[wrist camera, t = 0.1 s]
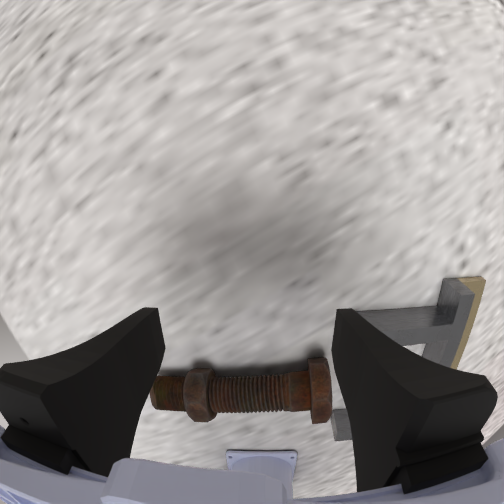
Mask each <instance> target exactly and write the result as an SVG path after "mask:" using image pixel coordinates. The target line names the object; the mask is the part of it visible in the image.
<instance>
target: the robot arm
mask: <svg viewBox="0 0 504 504" xmlns="http://www.w3.org/2000/svg"><path fill="white" fill-rule="evenodd" d="M331 351H332V357H333V363H334V369H335V373H336V376H337V380H338V383H339V386H340V389H341V393H342V396H343V399H344V402H345V406H346V409H347V413H348V417H349V421H350V427H351V434H352V440H353V448H354V457H355V467H356V480H357V492H356V493H350V494H343V495H334V496H325V497H314V498H300V499H293V489H292V482H293V477H294V471H295V465H296V459H297V452H296V451H269V452H263V451H227V452H226V458H227V464H228V470H221V469H209V468H199V467H190V466H182V465H175V464H168V463H162V462H156V461H150V460H145V459H133V458H130V454H131V449H132V445H133V440H134V436H135V432H136V428H137V425H138V421H139V417H140V414H141V411H142V409H143V406H144V404H145V401H146V399H147V397H148V395H149V392H150V390H151V388H152V386H153V383H154V381H155V379H156V376H157V374H158V372H159V369H160V367H161V363H162V360H163V356H164V352H165V343H164V338H163V333H162V328H161V323H160V317H159V312H158V308H147V307H144V308H142V309H140V310H138V311H137V312H135V313H133V314H132V315H130V316H129V317H127V318H125V319H124V320H122V321H121V322H119V323H118V324H116V325H114V326H113V327H111V328H110V329H108V330H106V331H104V332H103V333H101V334H99V335H97V336H96V337H94V338H92V339H90V340H88V341H86V342H84V343H82V344H80V345H77V346H75V347H73V348H70V349H68V350H65V351H62V352H59V353H56V354H53V355H50V356H46V357H43V358H38V359H34V360H29V361H23V362H15V363H6V364H4V365H3V366H2V367H1V368H0V412H1V413H2V415H3V416H4V418H5V419H6V421H7V422H8V424H9V426H8V427H7V429H6V430H5V429H4V428H3V427H2V426H1V425H0V499H1V500H2V501H4V502H5V503H7V504H504V438H503V439H500V440H498V441H496V442H493V443H492V444H490V445H489V446H488V447H486V448H485V449H483V447H482V445H481V442H482V441H483V440H484V436H483V435H482V433H481V429H482V428H483V426H484V425H485V423H486V422H487V420H488V418H489V417H490V415H491V414H492V412H493V410H494V408H495V406H496V402H497V398H498V396H497V392H496V390H495V389H494V388H493V386H492V385H491V383H490V382H489V381H488V379H487V378H486V376H484V375H479V374H473V373H468V372H463V371H459V370H456V369H453V368H449V367H446V366H443V365H441V364H438V363H435V362H433V361H431V360H428V359H426V358H424V357H421V356H419V355H417V354H415V353H414V352H412V351H410V350H408V349H406V348H405V347H403V346H401V345H400V344H398V343H397V342H395V341H394V340H392V339H391V338H389V337H388V336H386V335H385V334H384V333H382V332H381V331H380V330H378V329H377V328H376V327H374V326H373V325H372V324H371V323H369V322H368V321H367V320H366V319H364V318H363V317H362V316H361V315H360V314H358V313H357V312H356V311H354V310H353V309H352V308H350V309H337V312H336V320H335V328H334V335H333V342H332V349H331Z"/></svg>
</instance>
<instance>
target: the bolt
mask: <svg viewBox="0 0 504 504" xmlns="http://www.w3.org/2000/svg"><path fill="white" fill-rule="evenodd" d="M150 397H151V402H152V405H153V406H154V408H155V409H157V410H170V411H172V410H173V411H184V412H187V414H188V416H189V417H190V418H191V419H192V420H193V421H194V422H209V421H211V420H212V419H214V418H215V417H216V415H217V412H218V413H221V412H222V413H225V412H226V413H229V412H230V413H233V412H234V413H237V412H238V413H241V411H242V412H243V413H245V411H246V412H247V413H249V411H250V412H251V413H252V412H253V411H254V412H255V413H256V412H257V411H258V412H261V411H263V412H265V411H267V412H269V411H270V410H271V412H273V411H274V410H275V411H276V412H277V411H278V409H279V411H282V409H283V410H284V411H291V412H296V411H309V410H310V412H311V419H312V424H318V423H326V422H327V421H328V420H329V419H330V417H331V415H332V386H331V376H330V369H329V364H328V361H327V359H326V358H324V357H318V358H309V359H308V371H298V372H289V373H286V374H284V375H282V374H280V376H278V374H276V376H274V375H273V374H272V376H271V377H270V375H268V376H266V375H264V376H263V377H262V375H260V376H259V377H258V376H257V375H256V376H255V377H254V376H251V378H250V376H247V378H246V376H243V378H242V377H241V376H240V377H239V378H238V377H237V376H236V377H235V378H234V377H233V376H232V377H231V378H230V377H229V376H228V377H227V378H226V377H225V376H224V377H223V378H222V377H221V376H220V377H219V378H218V377H217V376H216V374H215V373H214V371H213V370H212V369H210V368H196V369H193V370H190V371H189V372H188V373H187V375H186V377H184V376H183V377H180V376H179V377H177V376H175V377H174V376H171V377H170V376H159V375H158V376H156V379H155V381H154V383H153V386H152V388H151V390H150Z"/></svg>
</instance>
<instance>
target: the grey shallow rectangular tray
mask: <svg viewBox="0 0 504 504" xmlns="http://www.w3.org/2000/svg"><path fill="white" fill-rule="evenodd" d="M485 282H486V280H485V279H484V278H482V277H467V278H450V279H443V283H442V287H441V292H440V296H439V300H438V304H437V306H429V307H417V308H404V309H390V310H374V311H356V312H357V313H358V314H360V315H361V316H362V317H363V318H364V319H366V320H367V321H368V322H369V323H371V324H372V325H373V326H374V327H376V328H377V329H378V330H380V331H381V332H382V333H384V334H385V335H386V336H388V337H389V338H391V339H392V340H394V341H395V342H397V343H398V344H400V345H401V346H407V345H415V344H423V343H426V346H425V349H424V352H423V356H422V357H424V358H426V359H428V360H431V361H433V362H435V363H438V364H441V365H443V366H446V367H449V368H453V369H457V367H458V364H459V362H460V359H461V357H462V354H463V352H464V349H465V346H466V344H467V341H468V338H469V335H470V332H471V330H472V327H473V324H474V320H475V317H476V314H477V311H478V308H479V304H480V301H481V297H482V294H483V290H484V286H485ZM331 423H332V429H333V434H334V439H335V441H344V440H352V434H351V427H350V421H349V417H348V413H347V409H339V410H333V412H332V416H331Z"/></svg>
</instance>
